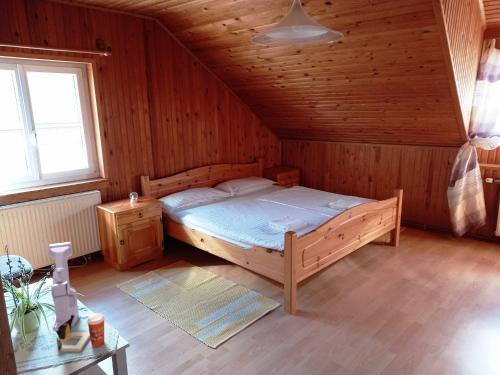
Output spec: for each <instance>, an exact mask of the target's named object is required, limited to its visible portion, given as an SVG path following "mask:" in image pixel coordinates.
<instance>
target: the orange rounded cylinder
mask: <svg viewBox="0 0 500 375" xmlns="http://www.w3.org/2000/svg"><path fill="white" fill-rule="evenodd" d="M63 325H67V327H66V332H65V339H60V341H61V343H65V342H68V341H69V340H71V339H70V338H71V336H70V335H71V331H70V328H69V324H68V323H64V324H63Z"/></svg>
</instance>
